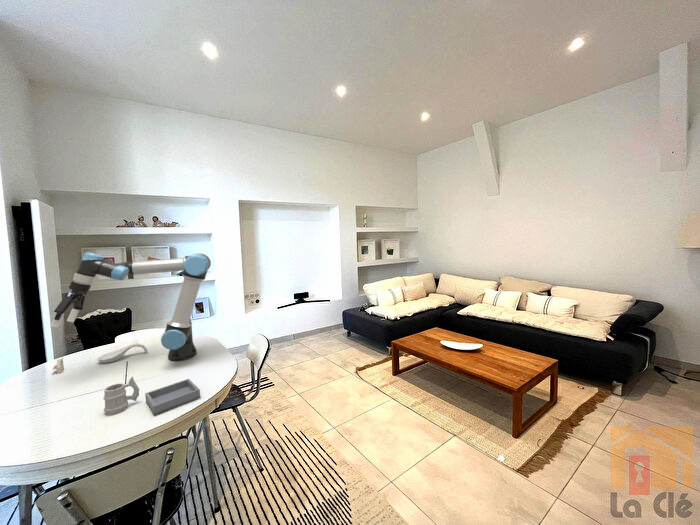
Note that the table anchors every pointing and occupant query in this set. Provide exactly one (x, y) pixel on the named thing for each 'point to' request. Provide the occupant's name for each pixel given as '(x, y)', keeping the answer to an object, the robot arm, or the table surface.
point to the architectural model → (59, 366)
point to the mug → (119, 397)
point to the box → (172, 396)
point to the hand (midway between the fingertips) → (62, 324)
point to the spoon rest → (118, 353)
